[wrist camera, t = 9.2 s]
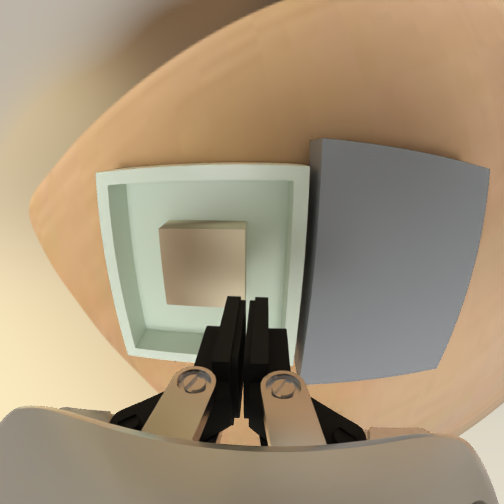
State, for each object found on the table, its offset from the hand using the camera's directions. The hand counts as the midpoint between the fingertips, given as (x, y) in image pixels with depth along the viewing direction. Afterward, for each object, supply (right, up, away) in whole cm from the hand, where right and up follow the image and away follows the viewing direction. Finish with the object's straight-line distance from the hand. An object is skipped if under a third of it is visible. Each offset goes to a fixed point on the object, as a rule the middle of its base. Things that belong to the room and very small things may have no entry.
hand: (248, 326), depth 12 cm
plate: (+10, +2, +7) cm, 12 cm away
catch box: (-3, +2, +7) cm, 8 cm away
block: (-3, +2, +5) cm, 6 cm away
